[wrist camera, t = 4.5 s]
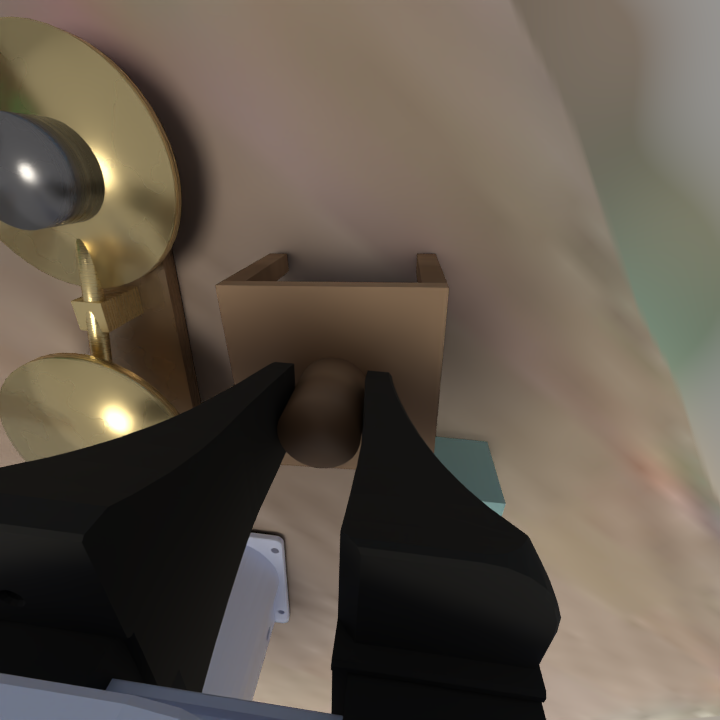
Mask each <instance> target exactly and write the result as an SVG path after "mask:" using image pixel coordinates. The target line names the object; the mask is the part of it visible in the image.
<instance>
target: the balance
mask: <svg viewBox="0 0 720 720" xmlns="http://www.w3.org/2000/svg"><path fill="white" fill-rule="evenodd" d="M181 202H182V194H181V185H180V177H179V173H178V168H177V164H176V160H175V157H174V154H173V151H172V148H171V145H170V142H169V140H168V138H167V135H166V133H165V131H164V129H163V126H162V124H161V122H160V121H159V119H158V117H157V115H156V114H155V112H154V110H153V108H152V107H151V105H150V104H149V102H148V101H147V100H146V98H145V97H144V95H143V94H142V92H141V91H140V90H139V88H138V87H137V86H136V85H135V84H134V83H133V81H132V80H131V79H130V78H129V77H128V76H127V74H126V73H125V72H124V71H123V70H121V69H120V68H119V67H118V66H117V65H116V64H115V63H114V62H113V61H112V60H111V59H110V58H108V57H107V56H106V55H105V54H103V53H102V52H101V51H99V50H98V49H97V48H96V47H94V46H92V45H91V44H89V43H87V42H86V41H84V40H82V39H81V38H79V37H77V36H75V35H73V34H70V33H68V32H66V31H64V30H61V29H59V28H56V27H54V26H51V25H49V24H46V23H43V22H39V21H36V20H32V19H28V18H19V17H0V240H1V241H2V242H3V243H4V244H5V245H7V246H8V247H9V248H10V249H11V250H12V251H13V252H14V253H16V254H17V255H18V256H20V257H21V258H22V259H24V260H25V261H26V262H28V263H29V264H31V265H33V266H34V267H36V268H37V269H39V270H41V271H42V272H44V273H46V274H48V275H50V276H52V277H54V278H57V279H60V280H62V281H65V282H67V283H71V284H75V285H79V286H81V289H82V297H80V298H77V299H75V300H72V301H71V303H72V306H73V309H74V312H75V315H76V318H77V321H78V324H79V327H80V330H86V331H87V332H88V339H89V346H90V353H91V356H89V355H83V354H77V353H56V354H49V355H45V356H42V357H39V358H37V359H34V360H32V361H30V362H28V363H26V364H25V365H23V366H21V367H19V368H18V369H16V370H15V371H13V372H12V373H11V374H10V375H9V376H8V378H7V379H6V380H5V382H4V384H3V386H2V387H1V391H0V418H1V421H2V425H3V427H4V429H5V432H6V434H7V436H8V438H9V439H10V441H11V443H12V444H13V446H14V447H15V449H16V450H17V451H18V453H19V454H20V455H21V456H22V458H23V459H24V460H25V461H26V462H29V461H33V460H38V459H42V458H47V457H51V456H55V455H59V454H63V453H67V452H71V451H75V450H78V449H82V448H86V447H89V446H93V445H96V444H99V443H103V442H106V441H109V440H113V439H116V438H119V437H122V436H124V435H127V434H130V433H133V432H136V431H138V430H141V429H144V428H147V427H150V426H152V425H155V424H158V423H160V422H163V421H165V420H167V419H170V418H172V417H174V416H177V415H179V414H180V413H183V412H185V411H188V410H190V409H192V408H194V407H196V406H198V405H200V404H201V400H200V395H199V390H198V384H197V379H196V374H195V368H194V363H193V358H192V353H191V347H190V342H189V337H188V332H187V326H186V321H185V316H184V311H183V305H182V300H181V295H180V290H179V284H178V279H177V274H176V269H175V263H174V258H173V253H172V245H173V243H174V241H175V239H176V236H177V232H178V228H179V225H180V217H181Z"/></svg>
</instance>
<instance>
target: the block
mask: <svg viewBox="0 0 720 720" xmlns="http://www.w3.org/2000/svg"><path fill="white" fill-rule="evenodd" d="M434 454H435V456H436V457H437V458H438V459H439V460H440V461H441V463H442V464H443V465H444V466H445V467H446V468H447V469H448V470H449V471H450V472H451V473H452V474H453V475H454V476H455V477H456V478H457V479H458V480H459V481H460V482H461V483H462V484H463V485H464V486H465V487H466V488H467V489H468V490H469V491H471V492H472V493H473V494H474V495H475V496H476V497H478V498H479V499H480V500H481V501H482V502H483V503H485V504H486V505H487V506H488V507H489V508H491V509H492V510H493V511H495V512H496V513H498V514H499V515H500V516H502V513H503V510H504V507H505V500H504V497H503V494H502V490H501V487H500V484H499V480H498V477H497V474H496V470H495V467H494V463H493V460H492V457H491V453H490V450H489V447H488V443H487V442H484V441H474V440H464V439H454V438H444V437H436V438H435V449H434Z"/></svg>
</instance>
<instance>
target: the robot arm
mask: <svg viewBox="0 0 720 720" xmlns="http://www.w3.org/2000/svg"><path fill="white" fill-rule="evenodd" d="M294 389H295V369H294V364H293V363H282V362H273V363H271V364H269V365H267V366H266V367H264V368H262V369H261V370H259V371H257V372H256V373H254V374H252V375H251V376H249V377H248V378H246V379H244V380H243V381H241V382H239V383H238V384H236V385H234V386H233V387H231V388H229V389H227V390H226V391H224V392H222V393H220V394H218V395H216V396H215V397H213V398H211V399H209V400H207V401H205V402H203V403H202V404H200V405H198V406H196V407H194V408H192V409H190V410H188V411H185V412H183V413H181V414H179V415H177V416H174V417H172V418H170V419H167V420H165V421H163V422H160V423H158V424H155V425H152V426H150V427H147V428H144V429H141V430H138V431H136V432H133V433H130V434H127V435H124V436H122V437H119V438H116V439H113V440H109V441H106V442H103V443H99V444H96V445H93V446H89V447H86V448H82V449H78V450H75V451H71V452H67V453H63V454H59V455H55V456H51V457H47V458H42V459H38V460H33V461H29V462H24V463H19V464H15V465H10V466H6V467H1V468H0V720H546V718H545V714H544V710H543V706H542V702H544V701H545V700H546V689H545V685H544V682H543V678H542V674H541V670H540V667H539V664H540V662H541V660H542V658H543V656H544V655H545V653H546V651H547V649H548V647H549V645H550V644H551V642H552V640H553V638H554V636H555V634H556V633H557V630H558V626H559V623H560V619H561V616H560V611H559V607H558V603H557V600H556V597H555V594H554V591H553V588H552V585H551V582H550V580H549V577H548V575H547V573H546V571H545V569H544V567H543V565H542V562H541V560H540V558H539V556H538V554H537V552H536V550H535V548H534V546H533V544H532V542H531V540H530V538H529V537H528V536H527V535H526V534H525V533H523V532H522V531H521V530H519V529H518V528H517V527H515V526H514V525H512V524H511V523H510V522H508V521H507V520H506V519H504V518H503V517H502V516H500V515H499V514H498V513H496V512H495V511H493V510H492V509H491V508H489V507H488V506H487V505H486V504H485V503H483V502H482V501H481V500H480V499H479V498H478V497H476V496H475V495H474V494H473V493H472V492H471V491H469V490H468V489H467V488H466V487H465V486H464V485H463V484H462V483H461V482H460V481H459V480H458V479H457V478H456V477H455V476H454V475H453V474H452V473H451V472H450V471H449V470H448V469H447V468H446V467H445V466H444V465H443V464H442V463H441V461H440V460H439V459H438V458H437V457H436V456H435V454H434V453H433V452H432V451H431V449H430V448H429V447H428V445H427V444H426V443H425V441H424V440H423V439H422V437H421V436H420V434H419V433H418V431H417V430H416V428H415V426H414V425H413V423H412V422H411V420H410V418H409V416H408V415H407V413H406V411H405V409H404V407H403V405H402V403H401V401H400V399H399V397H398V394H397V392H396V389H395V387H394V384H393V380H392V376H391V375H390V373H389V372H380V371H369V370H368V371H367V375H366V378H365V388H364V406H363V426H362V440H361V447H360V452H359V457H358V462H357V467H356V471H355V476H354V480H353V484H352V489H351V493H350V497H349V501H348V505H347V509H346V513H345V516H344V520H343V524H342V527H341V531H340V566H339V601H338V621H337V628H336V635H335V641H334V648H333V655H332V663H331V670H332V714H329V713H323V712H317V711H311V710H304V709H298V708H292V707H286V706H280V705H274V704H267V703H261V702H255V701H252V700H253V696H254V693H255V689H256V686H257V682H258V679H259V675H260V672H261V668H262V665H263V661H264V658H265V654H266V651H267V647H268V644H269V640H270V637H271V633H272V630H273V626H274V623H275V622H279V623H286V622H288V620H289V616H290V613H289V600H288V588H287V576H286V563H285V551H284V541H283V539H282V538H281V537H279V536H275V535H267V534H260V533H252V532H251V530H252V527H253V525H254V522H255V520H256V517H257V515H258V512H259V510H260V508H261V506H262V503H263V501H264V499H265V497H266V495H267V493H268V490H269V488H270V486H271V484H272V482H273V480H274V478H275V475H276V473H277V471H278V469H279V467H280V464H281V462H282V460H283V458H284V456H285V453H286V451H285V450H284V448H283V447H282V445H281V443H280V441H279V438H278V434H277V425H278V421H279V419H280V416H281V415H282V413H283V411H284V409H285V407H286V405H287V403H288V401H289V399H290V397H291V395H292V393H293V391H294Z"/></svg>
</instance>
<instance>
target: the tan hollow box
mask: <svg viewBox="0 0 720 720" xmlns="http://www.w3.org/2000/svg"><path fill="white" fill-rule="evenodd" d="M288 271H289V269H288V259H287V254H269V255H267V256H265V257H263V258H262V259H260V260H258V261H256V262H255V263H253V264H251V265H250V266H248V267H246V268H244V269H243V270H241V271H239V272H237V273H236V274H234V275H232V276H230V277H229V278H227V279H225V280H223V281H222V282H220V283H218V284H217V285H215V287H216V292H217V297H218V302H219V307H220V313H221V318H222V323H223V328H224V333H225V338H226V344H227V349H228V354H229V359H230V364H231V369H232V375H233V380H234V385H236V384H238V383H239V382H241V381H243V380H244V379H246V378H248V377H249V376H251V375H252V374H254V373H256V372H257V371H259V370H261V369H262V368H264V367H266V366H267V365H269V364H271V363H273V362H282V363H293V364H294V369H295V389H294V391H293V393H292V395H291V397H290V399H289V401H288V403H287V405H286V407H285V409H284V411H283V413H282V415H281V416H280V419H279V421H278V425H277V434H278V438H279V441H280V443H281V445H282V447H283V448H284V450H285V451H286V453H285V456H284V458H283V460H282V462H281V464H280V465H292V466H309V467H315V468H341V469H356V467H357V462H358V457H359V452H360V447H361V440H362V426H363V406H364V388H365V378H366V375H367V371H368V370H369V371H380V372H389V373H390V375H391V376H392V380H393V384H394V387H395V389H396V392H397V394H398V397H399V399H400V401H401V403H402V405H403V407H404V409H405V411H406V413H407V415H408V416H409V418H410V420H411V422H412V423H413V425H414V426H415V428H416V430H417V431H418V433H419V434H420V436H421V437H422V439H423V440H424V441H425V443H426V444H427V445H428V447H429V448H430V449H431V451H432V452H433V453H434V449H435V438H436V427H437V416H438V404H439V393H440V382H441V371H442V360H443V349H444V337H445V326H446V315H447V304H448V293H449V287H448V284H447V282H446V279H445V277H444V274H443V272H442V269H441V267H440V264H439V262H438V259H437V257H436V254H417V266H416V274H417V282H418V283H393V282H288V281H277V280H278V279H280V278H281V277H282V276H283V275H285V274H286V273H287V272H288Z"/></svg>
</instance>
